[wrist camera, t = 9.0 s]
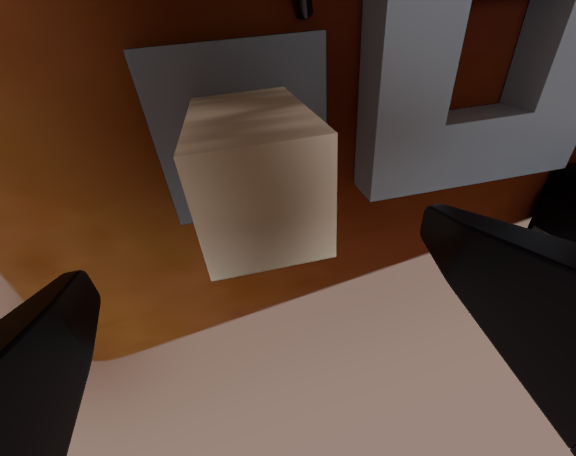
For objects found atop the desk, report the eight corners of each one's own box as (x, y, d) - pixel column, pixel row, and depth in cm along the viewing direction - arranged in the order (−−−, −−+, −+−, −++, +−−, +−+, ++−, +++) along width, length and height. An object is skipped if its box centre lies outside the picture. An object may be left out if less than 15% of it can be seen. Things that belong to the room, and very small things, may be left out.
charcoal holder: (637, -119, 14) (710, -144, 12) (531, 154, 21) (564, 168, 19) (368, -108, 12) (399, -134, 10) (353, 183, 20) (370, 202, 18)
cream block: (283, 86, 15) (337, 133, 9) (290, 170, 18) (336, 256, 11) (191, 98, 15) (173, 157, 8) (211, 183, 17) (211, 281, 11)
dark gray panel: (322, 29, 15) (326, 29, 14) (323, 195, 20) (326, 200, 19) (126, 48, 13) (122, 49, 13) (181, 219, 19) (180, 224, 18)
